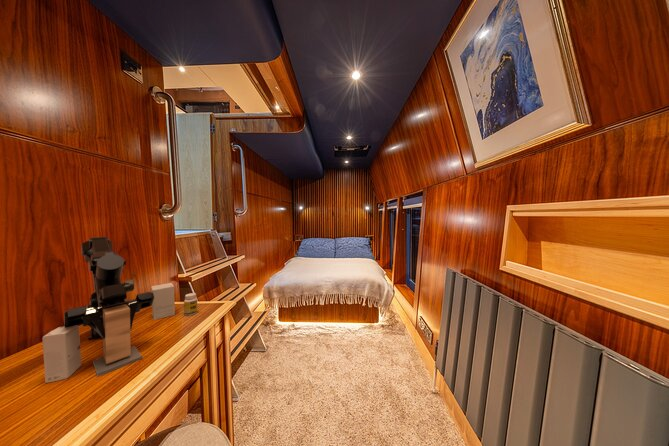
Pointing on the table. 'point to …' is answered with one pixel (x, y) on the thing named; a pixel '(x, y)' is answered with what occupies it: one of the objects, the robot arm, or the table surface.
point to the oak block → (116, 333)
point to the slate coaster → (116, 362)
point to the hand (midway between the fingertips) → (117, 333)
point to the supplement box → (163, 301)
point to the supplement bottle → (190, 304)
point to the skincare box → (61, 353)
